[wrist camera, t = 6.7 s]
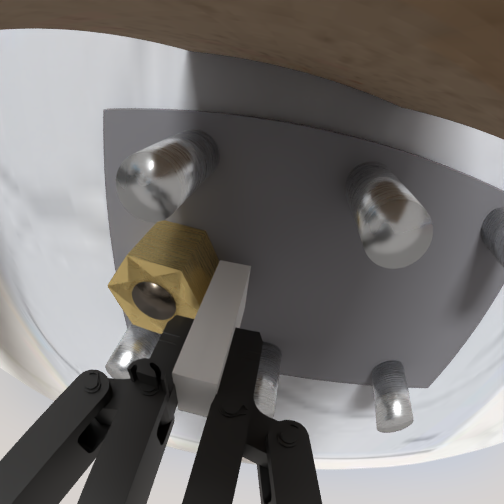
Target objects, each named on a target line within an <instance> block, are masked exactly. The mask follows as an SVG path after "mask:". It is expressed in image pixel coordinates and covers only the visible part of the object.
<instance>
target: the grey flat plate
mask: <svg viewBox="0 0 504 504" xmlns="http://www.w3.org/2000/svg"><path fill="white" fill-rule="evenodd" d="M190 129H196V130H200V131H203V132H205V133H207V134H208V135H210V136H211V137H212V138H213V140H214V141H215V143H216V145H217V147H218V150H219V162H218V165H217V167H216V169H215V170H214V172H213V173H212V174H211V175H210V176H209V177H208V178H207V179H206V180H205V181H204V182H203V183H202V184H201V185H200V186H199V187H198V188H197V189H196V190H195V191H194V192H193V193H192V194H191V195H190V196H189V197H188V198H187V199H186V200H185V201H184V202H183V204H182V205H181V206H180V207H179V208H178V209H177V210H176V211H175V212H174V213H173V214H172V215H171V216H170V217H168V218H167V219H165V221H169V222H173V223H177V224H181V225H185V226H189V227H193V228H197V229H201V230H205V231H206V232H207V234H208V236H209V239H210V241H211V243H212V246H213V248H214V250H215V253H216V255H217V257H218V259H219V262H220V260H222V261H227V262H232V263H237V264H243V265H248V266H251V269H250V276H249V283H248V290H247V296H246V303H245V309H244V313H243V317H242V321H241V325H240V328H241V329H246V330H251V331H256V332H260V335H261V338H262V341H263V342H268V343H271V344H273V345H275V346H277V347H278V348H279V349H280V350H281V353H282V358H281V366H280V374H283V375H289V376H295V377H301V378H308V379H315V380H323V381H331V382H340V383H349V384H360V385H372V386H373V382H372V370H373V369H374V368H375V367H376V366H377V365H378V364H380V363H383V362H386V361H391V360H395V361H399V362H401V363H402V364H403V367H404V371H405V376H406V381H407V386H408V388H428V387H429V386H430V385H431V384H432V383H433V382H434V380H435V379H436V378H437V377H438V376H439V375H440V374H441V372H442V371H443V370H444V369H445V368H446V366H447V365H448V364H449V363H450V362H451V360H452V359H453V358H454V357H455V355H456V354H457V353H458V352H459V350H460V349H461V348H462V346H463V345H464V344H465V342H466V341H467V340H468V338H469V337H470V336H471V334H472V333H473V331H474V330H475V329H476V327H477V326H478V324H479V323H480V321H481V320H482V318H483V317H484V315H485V314H486V312H487V311H488V309H489V308H490V306H491V304H492V303H493V301H494V300H495V298H496V296H497V295H498V293H499V291H500V290H501V288H502V286H503V284H504V268H503V267H502V265H501V264H500V263H499V262H498V260H497V259H496V258H495V257H494V255H493V254H492V253H491V252H490V251H489V249H488V248H487V247H486V246H485V245H484V244H483V242H482V240H481V227H482V224H483V221H484V219H485V218H486V216H487V215H488V214H489V213H490V212H491V211H492V210H494V209H496V208H504V191H502V190H500V189H498V188H496V187H494V186H492V185H490V184H488V183H485V182H483V181H481V180H479V179H476V178H474V177H472V176H469V175H467V174H465V173H462V172H460V171H457V170H455V169H452V168H450V167H447V166H445V165H442V164H439V163H437V162H434V161H431V160H428V159H426V158H423V157H420V156H417V155H414V154H411V153H408V152H405V151H402V150H399V149H395V148H392V147H389V146H385V145H382V144H379V143H375V142H372V141H368V140H364V139H361V138H357V137H353V136H349V135H345V134H341V133H336V132H332V131H328V130H323V129H319V128H314V127H309V126H304V125H299V124H294V123H288V122H282V121H276V120H270V119H264V118H257V117H250V116H242V115H234V114H225V113H215V112H204V111H191V110H173V109H136V108H128V109H105V110H104V116H103V140H104V170H105V186H106V199H107V210H108V220H109V228H110V236H111V244H112V251H113V258H114V264H115V270H116V271H117V270H118V268H119V266H120V265H121V263H122V262H123V260H124V259H125V257H126V256H127V254H128V253H129V252H130V251H131V250H132V249H133V248H134V247H135V246H136V244H137V243H138V242H139V241H140V240H141V239H142V238H143V237H144V236H145V235H146V233H147V232H148V231H149V230H150V229H151V228H152V227H153V226H154V225H155V224H156V223H157V222H147V221H143V220H140V219H138V218H136V217H135V216H133V215H132V214H131V213H130V212H128V211H127V209H126V208H125V207H124V206H123V204H122V203H121V201H120V199H119V196H118V194H117V189H116V175H117V171H118V169H119V167H120V165H121V163H122V162H123V161H124V160H125V159H126V158H127V157H128V156H130V155H132V154H134V153H136V152H138V151H140V150H142V149H144V148H147V147H149V146H151V145H153V144H155V143H157V142H160V141H162V140H164V139H166V138H169V137H171V136H173V135H176V134H178V133H181V132H183V131H185V130H190ZM366 162H376V163H380V164H382V165H384V166H385V167H387V168H388V169H389V170H390V171H391V172H392V173H393V174H394V175H395V176H396V177H397V178H398V179H399V180H400V182H401V183H402V184H403V185H404V186H405V187H406V188H407V189H408V190H409V191H410V192H411V194H412V195H413V196H414V197H415V198H416V199H417V200H418V201H419V203H420V204H421V205H422V206H423V207H424V208H425V210H426V211H427V212H428V214H429V215H430V217H431V220H432V224H433V236H432V240H431V243H430V245H429V247H428V249H427V250H426V252H425V253H424V254H423V256H422V257H421V258H420V259H418V260H417V261H416V262H414V263H412V264H410V265H408V266H406V267H402V268H397V269H390V268H384V267H381V266H379V265H377V264H375V263H374V262H373V261H371V259H370V258H369V257H368V256H367V254H366V252H365V250H364V247H363V244H362V241H361V238H360V235H359V232H358V229H357V226H356V223H355V220H354V217H353V214H352V211H351V208H350V206H349V203H348V200H347V197H346V194H345V182H346V179H347V177H348V175H349V173H350V172H351V171H352V170H353V169H354V168H355V167H356V166H358V165H360V164H362V163H366ZM123 312H124V311H123ZM124 316H125V321H126V325H127V329H128V327H129V326H130V324H131V323H132V322H131V321H130V320H129V318H128V317H127V315H126V314H125V312H124Z"/></svg>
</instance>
